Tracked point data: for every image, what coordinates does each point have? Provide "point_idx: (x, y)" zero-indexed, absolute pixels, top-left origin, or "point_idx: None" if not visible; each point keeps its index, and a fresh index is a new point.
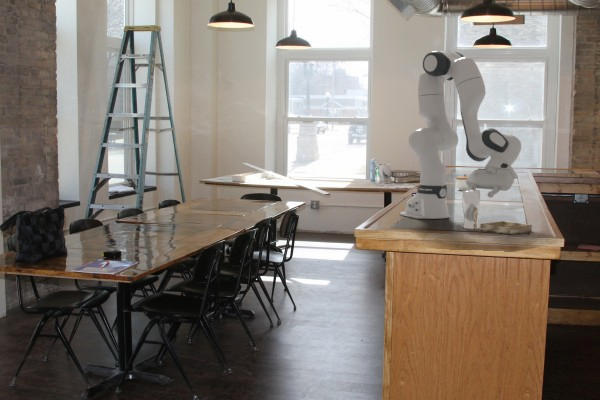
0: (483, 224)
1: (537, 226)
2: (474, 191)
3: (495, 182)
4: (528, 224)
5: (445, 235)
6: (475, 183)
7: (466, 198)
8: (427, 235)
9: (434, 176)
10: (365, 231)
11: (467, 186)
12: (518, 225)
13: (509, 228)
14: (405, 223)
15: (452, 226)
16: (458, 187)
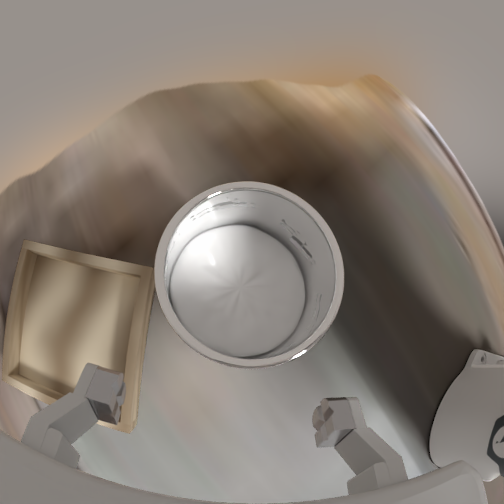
0: (134, 264)
1: None
2: (180, 208)
3: (33, 481)
4: (10, 381)
5: (207, 110)
6: (366, 492)
7: (245, 209)
8: (249, 89)
9: None
10: (386, 85)
11: None
12: (49, 393)
13: (24, 242)
14: (445, 243)
15: None
16: None
